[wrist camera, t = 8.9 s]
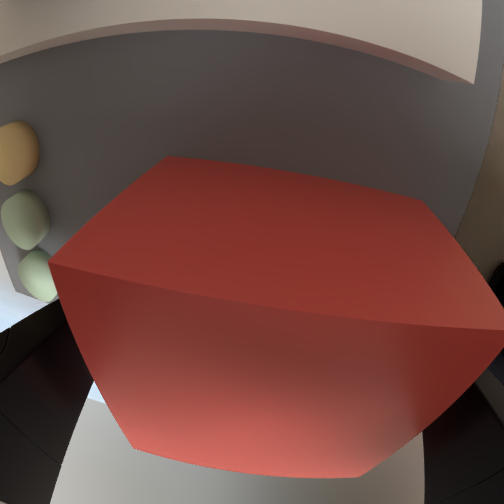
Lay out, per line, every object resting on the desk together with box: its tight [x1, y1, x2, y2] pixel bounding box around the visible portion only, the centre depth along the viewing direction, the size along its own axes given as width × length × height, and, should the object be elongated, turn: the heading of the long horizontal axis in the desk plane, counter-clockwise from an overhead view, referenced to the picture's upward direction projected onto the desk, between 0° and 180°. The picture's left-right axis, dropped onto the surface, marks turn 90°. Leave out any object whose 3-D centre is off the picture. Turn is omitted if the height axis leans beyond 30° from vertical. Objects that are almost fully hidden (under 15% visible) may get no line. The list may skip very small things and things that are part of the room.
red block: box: [48, 156, 504, 478], centre depth 7 cm, size 7×7×5 cm
